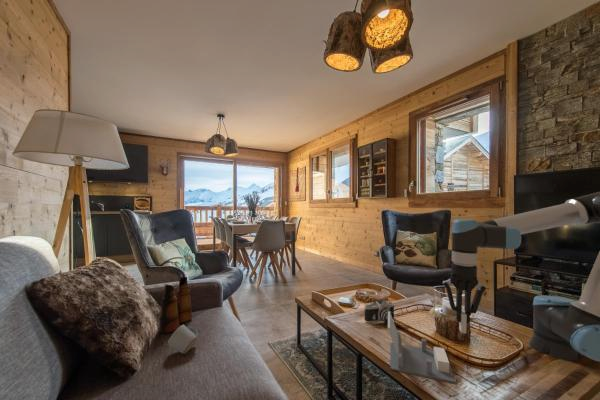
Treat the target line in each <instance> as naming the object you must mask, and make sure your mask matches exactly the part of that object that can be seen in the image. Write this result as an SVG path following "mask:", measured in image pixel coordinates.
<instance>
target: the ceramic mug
mask: <svg viewBox="0 0 600 400" xmlns="http://www.w3.org/2000/svg"><path fill="white" fill-rule="evenodd" d="M197 337H198V330H197V329H196V328H194V327H193V326H186V325H185V324H182V325H179V328H178V329H176V330H174V331H173V333H172V335H171V336H170V337H169V338H168V340H167V343H168V344H169V345H170V346H171V347H172V348H174V349H175V350H177V351H178V352H179V353H180V354H183V355H186V354H187V353H188V352H189V351H190V350H191V349H192V347H193V346H194V345H195V343H196V342H197V340H198V339H197Z"/></svg>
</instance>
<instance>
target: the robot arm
mask: <svg viewBox="0 0 600 400" xmlns="http://www.w3.org/2000/svg"><path fill="white" fill-rule="evenodd" d="M589 224H600V191H597V192H593V193H590V194H585V195H582V196H578V197H574V198H570V199H566V201H565V202H564V203H561V204H557V205H556V204H555V205H552V206H548V207H543V208H538V209H534V210H529V211H524V212H521V213H516V214H511V215H508V216H504V217H499V218H494V219H491V220H490V219H489V220H486V221H481V222H479V221H478V220H476V219H468V218H457V219H456V218H455V219H454V220H453V221H452V225H451V226H452V227H451V262H452V263H451V266H450V267H451V270H450V271H451V272H450V276H449V278H448V279H447V280H442V284H443V286H444V287H445V291H446V295H447V298H448V302H449V306H450V309H451V310H452V311H455V312H456V313H455V318H456V321H457V322H458V323H459V325H458V326H459V327H458V329H459V331H460V333H461V334H467V324H470V323H471V315H472V314H477V312H478V309H479V305H480V303H481V300H482V296H483V293H484V292H485V291H486V290H487V287H486V286H485V285H484V284H481V283H479V280H478V266H477V265H478V249H479V248H482V249H483V248H487V249H500V250H516V249H518V248H519V247H520V246H521V243H522V235H525V234H529V233H534V232H540V231H545V230H549V229H554V228H555V229H556V228H559V227H564V226H568V225H578V226H584V225H589ZM452 285H453V286H454V288H455V291H456V294H455V296H456V297H455V301H456V302H455V301H454V296H453V291H452V289H451V287H452ZM475 288H476V290H475V293H474V295H473V299H471V298H472V296H471V295H472V291H473V290H474V289H475ZM463 292H464V310H462V308H463ZM471 300H472V301H471ZM532 307H533V309H532V311H533V312H532V313H533V315H532V316H533V318H532V319H533V321H532V323H533V325H532V327H533V328H532V329H533V330H532V332H533V333H532V335H531V337H530V339H529V341H528V345H529V346H530V348H531V349H533V350H535V351H536V352H538V353H541V354H547V355H548V356H550V357H552V358H553V359H559V360H564V361H574V362H575V361H579V359H580V358H583V356H584V357H585V358H586V357H587V358H588V359H589V360H593V361H595V362H599V363H600V250H599V252H598V254H597V256H596V259H595V261H594V263H593V266H592V269H591V271H590V273H589V276H588V278H587V280H586V283H585V285H584V287H583V290H582V292H581V295H580V297H579V299H578V300H573V299H570V298H566V297H560V296H554V295H553V296H552V295H546V294H545V295H543V294H541V295H535V296H534V297H533V302H532Z"/></svg>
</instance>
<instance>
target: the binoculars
mask: <svg viewBox="0 0 600 400" xmlns="http://www.w3.org/2000/svg"><path fill="white" fill-rule="evenodd" d="M177 288H178V289H177V291H175V287H174V286H173V285H171V284H165V285H164V294H163V297H162V299H161V309H160V316H159V327H158V331H159V332H160V333H162V334H163V333H171V332H175V331H176V330H177V329H178V328H179V327H180V323H184V322H187V321H189V320H191V319H192V318H193V313H192V311H193V310H192V301H191V300H192V299H191V290H190V288H189V285H188V277H187V276H181V278H180V279H179V281H178V286H177Z"/></svg>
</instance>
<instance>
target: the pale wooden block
mask: <svg viewBox="0 0 600 400" xmlns="http://www.w3.org/2000/svg"><path fill="white" fill-rule="evenodd" d="M433 350H434V359H435V362H436V366H437V369H438V371H442V372H447V373H449V363H450V361H448V360H449V358H447V357H448V355H447V353H445V352H446V350H445V348H443V347H439V346H433ZM446 355H447V356H446Z"/></svg>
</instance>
